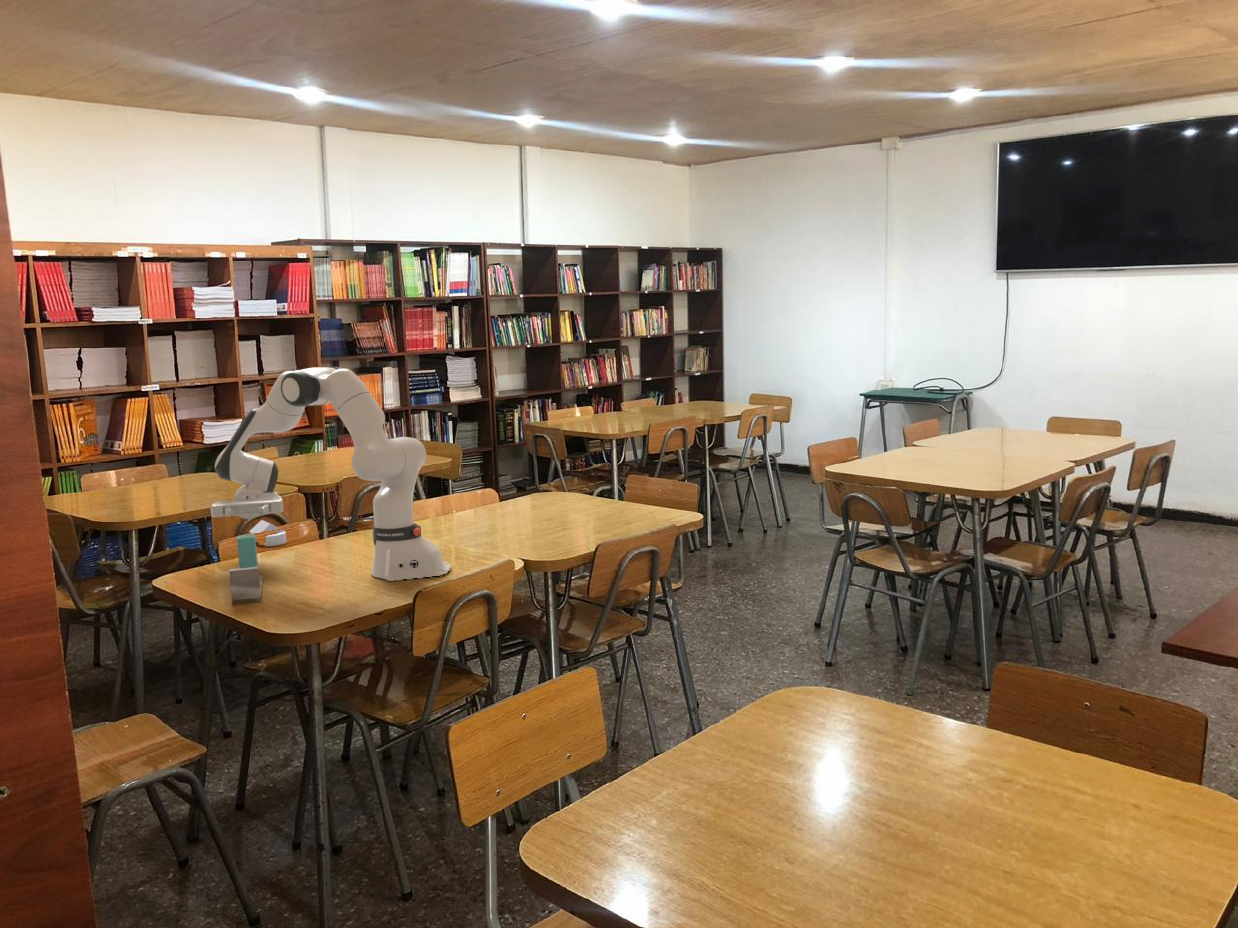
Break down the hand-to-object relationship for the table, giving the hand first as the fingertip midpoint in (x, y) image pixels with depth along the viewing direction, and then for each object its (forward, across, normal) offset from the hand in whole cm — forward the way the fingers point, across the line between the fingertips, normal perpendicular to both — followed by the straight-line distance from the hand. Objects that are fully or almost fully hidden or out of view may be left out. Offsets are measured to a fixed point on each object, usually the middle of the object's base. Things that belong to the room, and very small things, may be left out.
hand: (246, 512), depth 275 cm
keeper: (+12, 0, +17) cm, 21 cm away
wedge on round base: (-42, +4, +19) cm, 46 cm away
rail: (+20, 0, +18) cm, 27 cm away
